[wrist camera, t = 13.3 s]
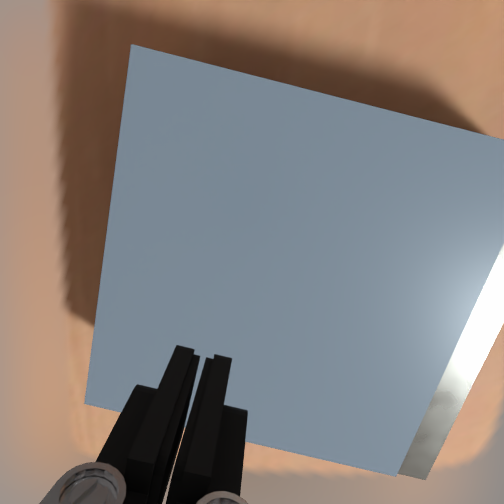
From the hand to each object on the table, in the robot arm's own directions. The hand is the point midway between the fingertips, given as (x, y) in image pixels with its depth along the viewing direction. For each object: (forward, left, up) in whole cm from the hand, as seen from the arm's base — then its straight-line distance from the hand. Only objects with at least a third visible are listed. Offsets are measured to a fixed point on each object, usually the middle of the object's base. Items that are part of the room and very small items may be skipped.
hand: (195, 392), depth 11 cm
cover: (+1, +3, -17) cm, 18 cm away
